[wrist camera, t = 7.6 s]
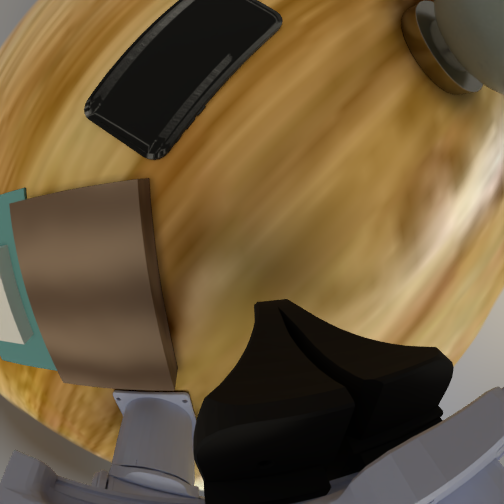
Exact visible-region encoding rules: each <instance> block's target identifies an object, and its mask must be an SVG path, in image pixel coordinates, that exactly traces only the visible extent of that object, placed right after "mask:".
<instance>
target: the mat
mask: <svg viewBox="0 0 504 504" xmlns="http://www.w3.org/2000/svg"><path fill="white" fill-rule="evenodd" d="M26 199H27V198H26V188H22V189H19V190H15V191H12V192H8V193H5V194H2V195H0V246H4V245H8V250H9V255H10V259H11V264H12V268H13V272H14V276H15V280H16V283H17V287H18V290H19V294H20V297H21V300H22V303H23V306H24V309H25V312H26V315H27V318H28V321H29V323H30V326H31V329H32V331H33V335H32V336H31V337H30V339H29V340H28V341H27V342H26V343H25V344H18V343H12V342H6V341H0V356H1V358H2V360H5V361H9V362H13V363H18V364H23V365H28V366H33V367H38V368H44V369H50V370H56V371H57V369H56V367H55V365H54V363H53V361H52V358H51V356H50V354H49V352H48V350H47V347H46V345H45V342H44V340H43V338H42V335H41V333H40V330H39V327H38V325H37V322H36V319H35V316H34V314H33V311H32V308H31V305H30V302H29V298H28V295H27V292H26V288H25V285H24V281H23V277H22V274H21V270H20V265H19V261H18V256H17V252H16V247H15V241H14V236H13V230H12V223H11V216H10V207H9V204H10V203H14V202H18V201H22V200H26Z"/></svg>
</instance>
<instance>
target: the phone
mask: <svg viewBox="0 0 504 504" xmlns="http://www.w3.org/2000/svg"><path fill="white" fill-rule="evenodd" d="M282 21H283V20H282V17H281V15H280V14H279V13H278V12H276V11H275V10H273V9H271V8H270V7H268V6H266V5H265V4H263V3H261V2H259V1H257V0H179V1H177V2H176V3H175V4H174V5H173V6H172V7H170V8H169V9H168V10H167V11H166V12H165V13H163V14H162V15H161V16H160V17H159V18H158V19H157V20H156V21H155V22H154V23H153V24H152V25H151V26H150V27H148V28H147V29H146V30H145V31H144V32H143V33H142V34H141V35H140V36H139V38H138V39H137V40H136V41H135V42H134V43H133V44H132V45H131V46H130V47H129V48H128V49H127V50H126V52H125V53H124V54H123V55H122V56H121V57H120V58H119V60H118V61H117V62H116V63H115V64H114V65H113V67H112V68H111V69H110V70H109V72H108V73H107V74H106V75H105V77H104V78H103V79H102V81H101V82H100V83H99V85H98V86H97V87H96V89H95V90H94V91H93V93H92V94H91V96H90V97H89V98H88V100H87V102H86V104H85V108H84V112H85V115H86V117H87V118H88V119H89V120H90V121H92V122H93V123H95V124H96V125H98V126H99V127H101V128H102V129H104V130H105V131H107V132H108V133H109V134H111V135H112V136H114V137H115V138H117V139H118V140H120V141H121V142H123V143H124V144H126V145H127V146H129V147H130V148H131V149H133V150H134V151H136V152H137V153H139V154H140V155H142V156H143V157H145V158H147V159H153V160H156V159H160V158H162V157H164V156H165V155H166V154H167V153H168V152H169V151H170V150H171V148H172V147H173V145H174V144H175V143H176V142H177V141H178V140H179V139H180V137H181V135H182V134H183V132H184V131H185V130H187V129H188V127H189V126H190V125H191V123H192V122H193V121H194V120H195V117H196V116H197V115H199V114H200V113H201V112H202V110H203V109H204V108H205V107H206V106H205V105H206V104H207V103H208V101H209V100H210V99H211V98H212V97H213V96H214V95H215V93H216V92H217V91H218V90H219V89H220V88H221V87H222V86H223V84H224V83H225V82H226V81H227V80H228V79H229V78H230V77H231V76H232V75H233V74H234V73H235V72H236V71H237V69H238V68H239V67H240V66H241V65H242V64H243V63H244V62H245V61H246V60H247V59H248V58H249V57H250V56H251V55H252V54H253V53H254V52H255V51H256V50H257V49H259V48H260V47H261V46H262V45H263V44H264V43H265V42H266V41H267V40H268V39H269V38H270V37H271V36H273V35H274V34H275V33H276V32H277V31H278V30H279V28H280V27H281V25H282Z"/></svg>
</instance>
